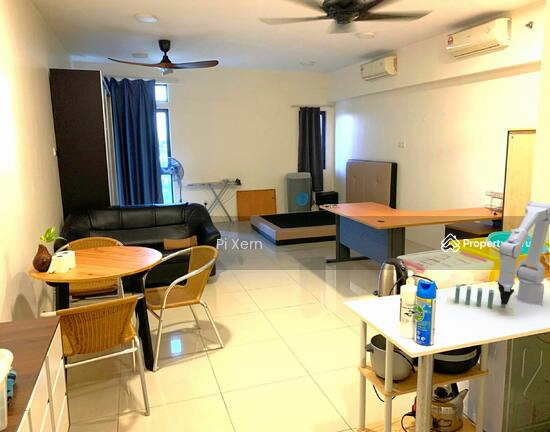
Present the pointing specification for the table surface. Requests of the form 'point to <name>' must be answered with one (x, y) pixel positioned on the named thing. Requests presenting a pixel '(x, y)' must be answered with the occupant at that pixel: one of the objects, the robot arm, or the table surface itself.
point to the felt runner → (483, 306)
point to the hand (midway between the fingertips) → (503, 301)
